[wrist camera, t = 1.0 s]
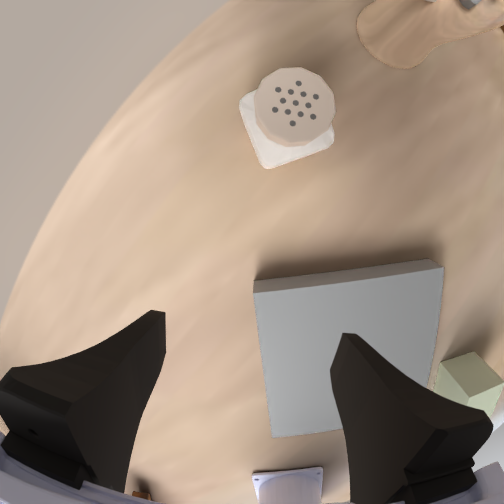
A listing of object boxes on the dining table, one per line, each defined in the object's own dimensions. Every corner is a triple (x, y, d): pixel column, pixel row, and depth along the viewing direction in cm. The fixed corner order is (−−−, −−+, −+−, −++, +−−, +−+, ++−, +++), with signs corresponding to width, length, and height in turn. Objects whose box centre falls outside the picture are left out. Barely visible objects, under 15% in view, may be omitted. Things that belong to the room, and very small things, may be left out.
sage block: (464, 384, 25) (490, 416, 19) (431, 396, 25) (455, 432, 19) (473, 351, 24) (504, 382, 18) (440, 362, 24) (469, 397, 18)
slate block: (409, 391, 25) (420, 409, 22) (271, 415, 26) (272, 437, 23) (425, 256, 22) (444, 267, 19) (253, 278, 23) (253, 293, 20)
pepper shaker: (296, 99, 19) (322, 46, 10) (317, 152, 20) (361, 135, 11) (241, 118, 20) (227, 75, 10) (263, 172, 20) (265, 168, 11)
